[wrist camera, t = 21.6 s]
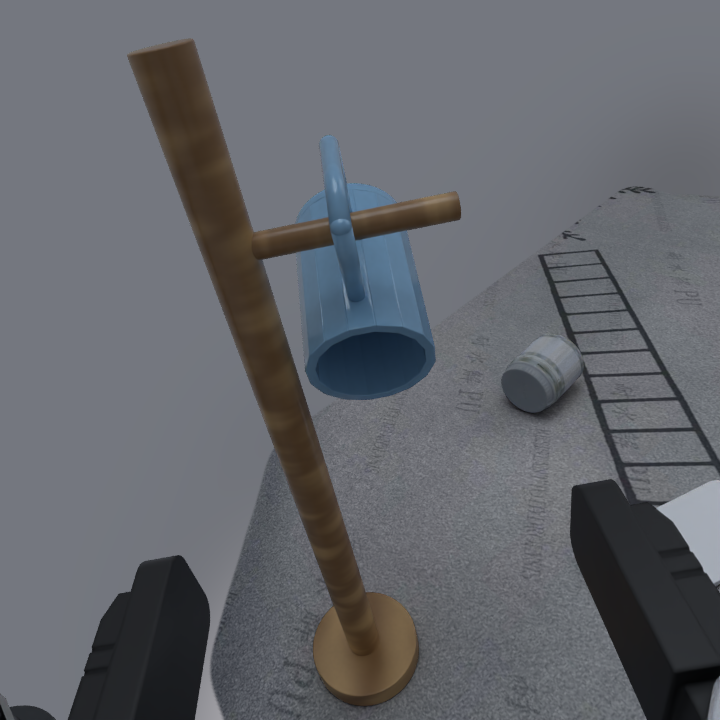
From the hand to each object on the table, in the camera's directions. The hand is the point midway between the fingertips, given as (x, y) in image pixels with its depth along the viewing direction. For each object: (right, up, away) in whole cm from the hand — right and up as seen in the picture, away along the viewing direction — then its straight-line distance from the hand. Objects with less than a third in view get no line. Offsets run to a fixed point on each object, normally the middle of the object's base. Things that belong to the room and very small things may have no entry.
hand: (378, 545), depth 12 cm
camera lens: (+17, 0, +49) cm, 51 cm away
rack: (+3, -18, +32) cm, 37 cm away
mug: (-1, +13, +20) cm, 24 cm away
